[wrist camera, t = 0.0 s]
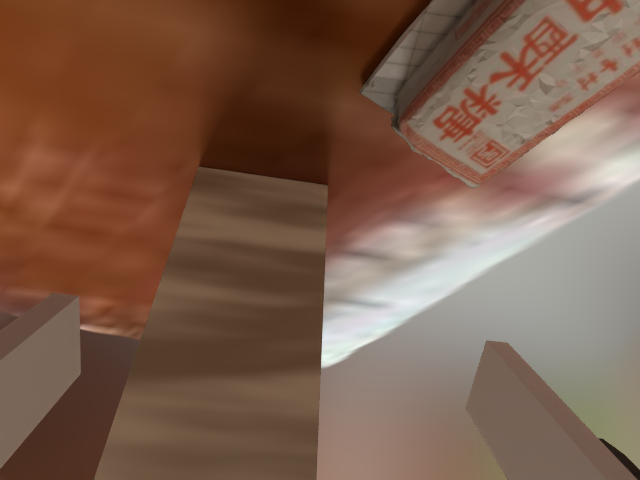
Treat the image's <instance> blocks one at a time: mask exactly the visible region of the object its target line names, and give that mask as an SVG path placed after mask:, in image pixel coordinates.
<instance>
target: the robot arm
mask: <svg viewBox="0 0 640 480" xmlns="http://www.w3.org/2000/svg"><path fill="white" fill-rule="evenodd" d="M80 374H81V367H80V319H79V296H74V295H65V294H55V293H52V294H51V295H49V296H48V297H46V298H45V299H44V300H42V301H41V302H39V303H38V304H37V305H35V306H34V307H33V308H31V309H30V310H28V311H27V312H26V313H24V314H23V315H21V316H20V317H19V318H17V319H16V320H14V321H13V322H12V323H10V324H9V325H7V326H6V327H5V328H3V329H2V330H0V468H1V467H2V466H3V465H4V463H5V462H6V461H7V460H8V459H9V457H10V456H11V455H12V454H13V453H14V452H15V451H16V449H17V448H18V447H19V446H20V445H21V443H22V442H23V441H24V440H25V439H26V437H27V436H28V435H29V434H30V433H31V432H32V430H33V429H34V428H35V427H36V426H37V424H38V423H39V422H40V421H41V420H42V419H43V417H44V416H45V415H46V414H47V413H48V411H49V410H50V409H51V408H52V407H53V406H54V404H55V403H56V402H57V401H58V400H59V398H60V397H61V396H62V395H63V394H64V392H65V391H66V390H67V389H68V388H69V387H70V385H71V384H72V383H73V382H74V381H75V379H76V378H77V377H78V376H79V375H80ZM466 410H467V411H468V413H469V415H470V417H471V418H472V420H473V422H474V424H475V425H476V427H477V428H478V430H479V432H480V434H481V435H482V437H483V439H484V440H485V442H486V444H487V446H488V447H489V449H490V451H491V452H492V454H493V456H494V457H495V459H496V461H497V462H498V464H499V466H500V468H501V469H502V471H503V473H504V474H505V476H506V478H507V480H640V470H639V469H638V468H637V467H636V466H635V465H634V464H633V463H632V462H631V461H630V460H629V459H628V458H627V457H626V456H625V455H624V454H623V453H621V452H620V451H619V450H617V449H616V448H615V447H613V446H612V445H610V444H609V443H608V442H606V441H605V440H604V439H599V438H597V437H596V436H595V435H594V434H593V432H592V431H591V430H590V429H589V428H588V427H587V426H586V425H585V424H584V423H583V422H582V421H581V420H580V419H579V418H578V417H577V416H576V414H575V413H574V412H573V411H572V410H571V409H570V408H569V407H568V406H567V405H566V404H565V403H564V402H563V401H562V400H561V399H560V398H559V397H558V396H557V394H556V393H555V392H554V391H553V390H552V389H551V388H550V387H549V386H548V385H547V384H546V383H545V382H544V381H543V380H542V379H541V378H540V377H539V375H538V374H537V373H536V372H535V371H534V370H533V369H532V368H531V367H530V366H529V365H528V364H527V363H526V362H525V361H524V360H523V359H522V358H521V357H520V355H519V354H518V353H517V352H516V351H515V350H514V349H513V348H512V347H511V346H510V345H509V344H508V343H504V342H495V341H486V343H485V347H484V350H483V353H482V356H481V359H480V363H479V366H478V369H477V372H476V376H475V379H474V382H473V385H472V389H471V392H470V396H469V398H468V402H467V405H466Z"/></svg>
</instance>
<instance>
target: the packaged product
mask: <svg viewBox="0 0 640 480" xmlns="http://www.w3.org/2000/svg"><path fill="white" fill-rule="evenodd" d="M639 72H640V0H432V1H431V2H430V3H429V4H428V6H427V7H426V8H425V9H424V10H423V11H422V12H421V13H420V15H419V16H418V17H417V18H416V19H415V20H414V22H413V23H412V24H411V25H410V26H409V27H408V28H407V30H406V31H405V32H404V33H403V34H402V35H401V37H400V38H399V39H398V40H397V42H396V43H395V44H394V46H393V47H392V48H391V50H390V51H389V52H388V54H387V55H386V56H385V58H384V59H383V60H382V61H381V63H380V64H379V65H378V67H377V68H376V69H375V71H374V72H373V73H372V75H371V76H370V78H369V79H368V80H367V82H366V83H365V84H364V85H363V86H362V87H361V89H360V90H359V91H360V93H361V94H362V95H364V96H366V97H367V98H369V99H370V100H372V101H373V102H375V103H376V104H378V105H379V106H380V107H382V108H384V109H385V110H387V111H388V112H391V113H393V114H394V116H393V117H392V118H391V120H392V124H391V127H392V128H393V129H394V131H395V132H396V133H397V134H398V135H399V136H401V137H403V138H404V139H405V140H406V141H407V143H408V144H409V146H410V148H411V149H412V151H414V152H416V153H419V154H420V155H424V156H425V157H426V158H427V159H429V160H433V161H434V162H436V163H438V164H440V165H441V166H442V167H443V168H444V169H445V170H446V171H447V172H448V173H450V174H451V175H452V176H453V177H457V178H459V179H461V180H462V181H463V182H464V183H465V184H466V185H468V186H469V187H471V188H476V187H479V186H480V185H481V183H483V182H485V181H486V180H488V179H489V178H490V177H492V176H493V175H495V174H496V173H498V172H499V171H501V170H502V169H504V168H506V167H507V166H508V165H510V164H511V163H512V162H513V161H515V160H516V159H518V158H520V157H522V156H523V155H524V154H525V153H527V152H528V151H529V150H530V149H532V148H533V147H534V146H536V145H537V144H538V143H540V142H541V141H542V140H544V139H545V138H547V137H548V136H550V135H551V134H554V133H555V132H556V131H558V130H559V129H560V128H561V127H562V126H563V125H565V124H566V123H567V122H569V121H570V120H572V119H573V118H575V117H577V116H578V115H580V114H581V113H583V112H584V111H585V110H586V109H587V108H589V107H591V106H592V105H593V104H595V103H596V102H598V101H599V100H601V99H602V98H603V97H605V96H606V95H608V94H609V93H610V92H612V91H613V90H614V89H615V88H617V87H618V86H619V85H620V84H622V83H623V82H624V81H625V80H626V79H628V78H630V77H633V76H635V75H636V74H637V73H639Z"/></svg>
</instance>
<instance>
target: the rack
mask: <svg viewBox="0 0 640 480" xmlns="http://www.w3.org/2000/svg"><path fill="white" fill-rule="evenodd" d="M327 201H328V185H323V184H316V183H309V182H302V181H295V180H288V179H281V178H274V177H267V176H261V175H254V174H247V173H240V172H233V171H226V170H219V169H212V168H205V167H198V170H197V173H196V176H195V179H194V182H193V185H192V188H191V191H190V194H189V197H188V200H187V203H186V206H185V209H184V212H183V215H182V218H181V221H180V224H179V227H178V230H177V233H176V236H175V239H174V242H173V245H172V248H171V251H170V254H169V257H168V260H167V263H166V266H165V269H164V272H163V275H162V278H161V281H160V284H159V287H158V290H157V293H156V296H155V299H154V302H153V305H152V308H151V311H150V314H149V317H148V320H147V323H146V326H145V329H144V332H143V335H142V338H141V341H140V344H139V347H138V350H137V353H136V356H135V359H134V362H133V365H132V368H131V371H130V374H129V377H128V380H127V383H126V386H125V388H124V391H123V394H122V397H121V401H120V403H119V407H118V409H117V412H116V415H115V418H114V422H113V425H112V427H111V431H110V434H109V436H108V440H107V443H106V446H105V448H104V451H103V454H102V457H101V460H100V464H99V466H98V469H97V472H96V475H95V478H94V480H316V474H317V449H318V425H319V400H320V375H321V350H322V325H323V300H324V275H325V250H326V226H327Z"/></svg>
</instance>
